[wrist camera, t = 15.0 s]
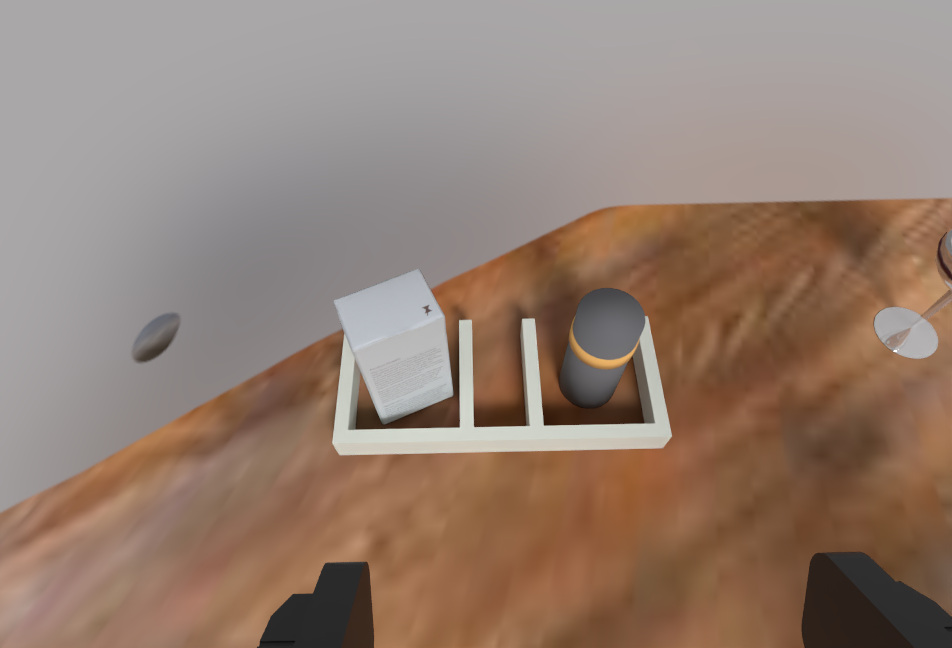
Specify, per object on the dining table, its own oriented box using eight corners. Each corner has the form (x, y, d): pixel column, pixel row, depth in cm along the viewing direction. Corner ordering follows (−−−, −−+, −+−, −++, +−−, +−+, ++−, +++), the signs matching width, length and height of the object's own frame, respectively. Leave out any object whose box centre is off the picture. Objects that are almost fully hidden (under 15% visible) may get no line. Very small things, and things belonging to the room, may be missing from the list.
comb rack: (640, 332, 49) (647, 316, 47) (662, 448, 44) (671, 436, 42) (351, 337, 49) (345, 322, 47) (339, 455, 44) (332, 443, 41)
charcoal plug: (611, 356, 48) (640, 286, 39) (619, 409, 45) (652, 346, 37) (555, 357, 48) (571, 287, 39) (560, 410, 45) (579, 347, 37)
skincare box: (433, 353, 48) (421, 265, 38) (454, 397, 46) (447, 316, 36) (363, 381, 47) (330, 298, 36) (381, 427, 45) (352, 353, 34)
